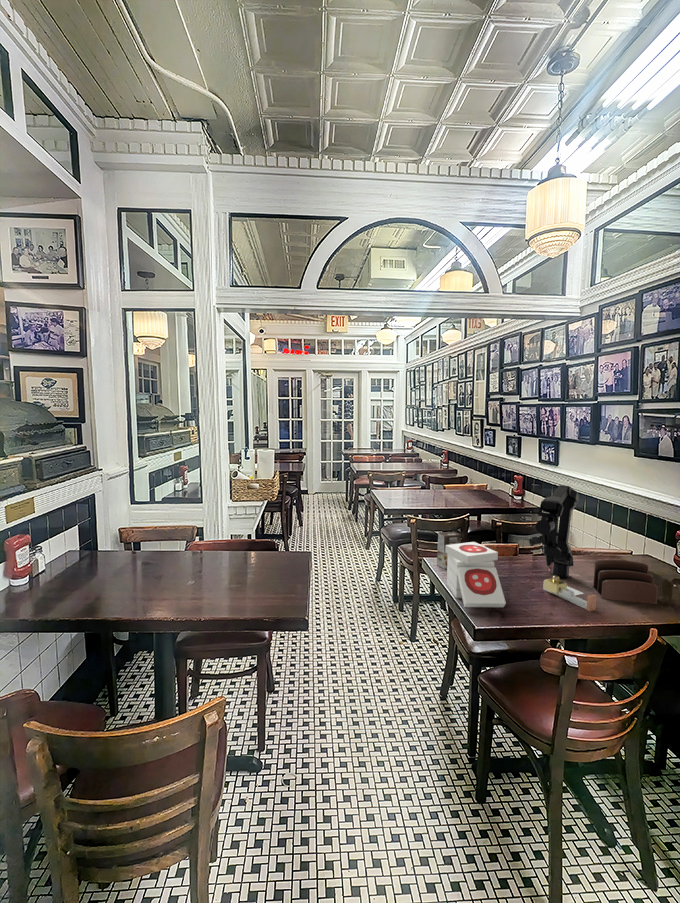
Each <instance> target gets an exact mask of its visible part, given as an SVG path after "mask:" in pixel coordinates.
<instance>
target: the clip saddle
mask: <svg viewBox="0 0 680 903" xmlns="http://www.w3.org/2000/svg"><path fill="white" fill-rule="evenodd" d="M544 580H545V585H544V588H545V589H547V590H549V591H552V592H554V593H556V594H558V593H559V588H562V587H564V588H567V586H568V582H565V581H564V580H562V579H559V576H556V575H554V576H552V577H551V578H546V579H544Z"/></svg>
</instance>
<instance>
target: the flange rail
mask: <svg viewBox="0 0 680 903" xmlns="http://www.w3.org/2000/svg"><path fill="white" fill-rule="evenodd" d="M542 584H543V585H542V586H543V587H542V590H544V591H546V592H548V593H551V594H552V595H555V596H557V597H559V598H561V599H563V600H565V601H568V602H570V603H572V604H574V605H576V606H578V607H581V608H583V609H584V610H586V611H587V612H593V611H596V608H597V595H596V594H595V593H594V594H589V595H587V600H585V599H583V598H581V597H578V596H577V595H575V596H574V592H573V591H571V590H569V589H567V588H564V587H562V588H559V593H558V594H556V593H554V592H552V591H549V590H547V589H545V588H544V585H545V579H544V580H543V583H542Z"/></svg>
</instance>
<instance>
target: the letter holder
mask: <svg viewBox="0 0 680 903" xmlns="http://www.w3.org/2000/svg"><path fill="white" fill-rule="evenodd" d="M593 574H594V575H593V584H592V585H593V586H592V587H593V588H592V589H593V591H594V592H595V593H596V594H597V595H598V597H600V599H603V600H610V601H611V600H612V601H623V602H633V603H634V602H635V603H643V604H644V603H645V604H647V605H658V592H659V587H658V585H656V584H655V583H653V581H654V580H653V579H654V577H653V575H652V574H649V566H648V564H647V563H643V562H638V561H632V560H623V559H622V560H620V559H597V560H596V561H595V562H594V572H593Z"/></svg>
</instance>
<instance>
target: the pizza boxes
mask: <svg viewBox="0 0 680 903" xmlns="http://www.w3.org/2000/svg"><path fill="white" fill-rule="evenodd" d="M445 553H447V554H448V560H447V570H446V585H447V586H448V588H449V590H450V591H451V592H452V594H453V595H454V597H455V598H456V599H462V603H463V607H464V608H504V607H505V606H506V604H507V603H506V599H505V594H504V592H503V588H502V584H501V582H500V577H499V574H498V571H497V568H496V567H495V561H498V559H499V558H498V557H499V552H498V551H497V550H493V549H492V548H489V547H487V546H485V545H483V544H480V543H478V542H476V541H470V542H461V543H459V544H451V545H446V548H445Z"/></svg>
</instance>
